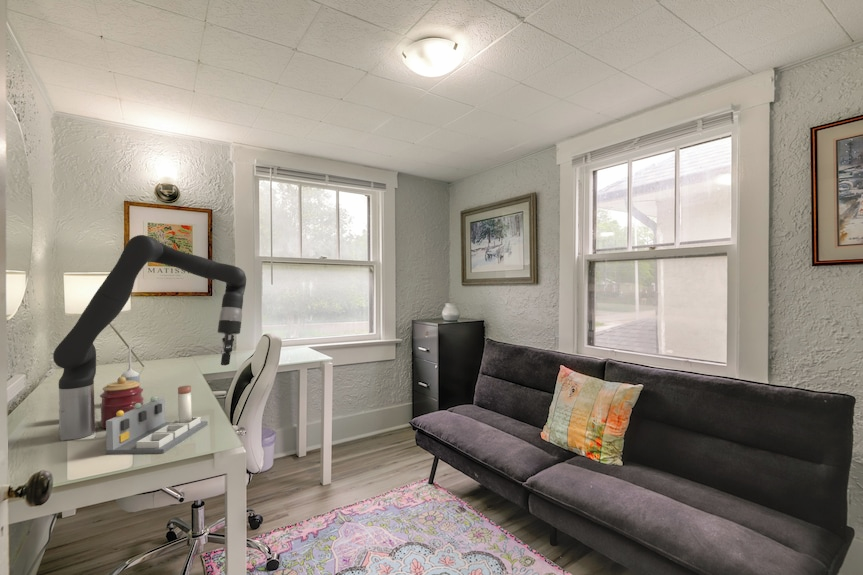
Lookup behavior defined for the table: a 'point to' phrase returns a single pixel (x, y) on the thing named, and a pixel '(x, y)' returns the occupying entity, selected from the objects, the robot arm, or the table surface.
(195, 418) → the breaker board
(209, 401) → the table surface
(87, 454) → the table surface
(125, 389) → the canister
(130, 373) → the long-necked bottle
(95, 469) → the table surface
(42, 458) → the table surface
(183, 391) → the plug
